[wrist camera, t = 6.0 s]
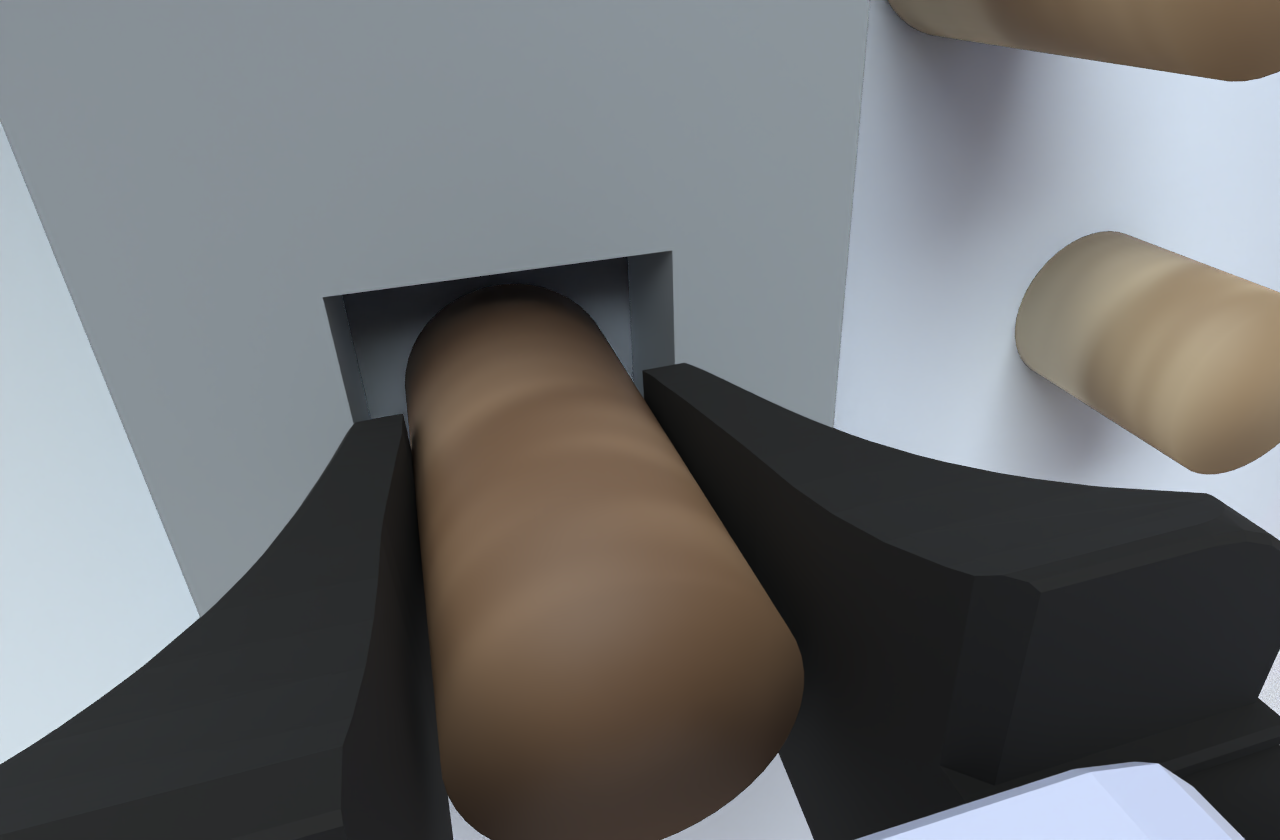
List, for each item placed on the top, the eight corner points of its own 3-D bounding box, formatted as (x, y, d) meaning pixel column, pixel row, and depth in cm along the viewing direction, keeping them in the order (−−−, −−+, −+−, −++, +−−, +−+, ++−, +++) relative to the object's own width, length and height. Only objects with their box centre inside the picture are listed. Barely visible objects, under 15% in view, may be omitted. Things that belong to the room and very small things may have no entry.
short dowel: (1167, 222, 17) (1364, 290, 14) (1128, 364, 19) (1295, 456, 15) (1032, 241, 16) (1205, 318, 13) (1002, 387, 18) (1149, 489, 15)
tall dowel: (607, 271, 13) (818, 546, 7) (615, 453, 14) (792, 804, 8) (388, 297, 12) (411, 628, 6) (421, 486, 14) (466, 895, 8)
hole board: (792, -150, 12) (884, -170, 10) (761, 601, 19) (811, 683, 17) (-6, -128, 10) (-108, -150, 8) (292, 712, 17) (282, 822, 15)
